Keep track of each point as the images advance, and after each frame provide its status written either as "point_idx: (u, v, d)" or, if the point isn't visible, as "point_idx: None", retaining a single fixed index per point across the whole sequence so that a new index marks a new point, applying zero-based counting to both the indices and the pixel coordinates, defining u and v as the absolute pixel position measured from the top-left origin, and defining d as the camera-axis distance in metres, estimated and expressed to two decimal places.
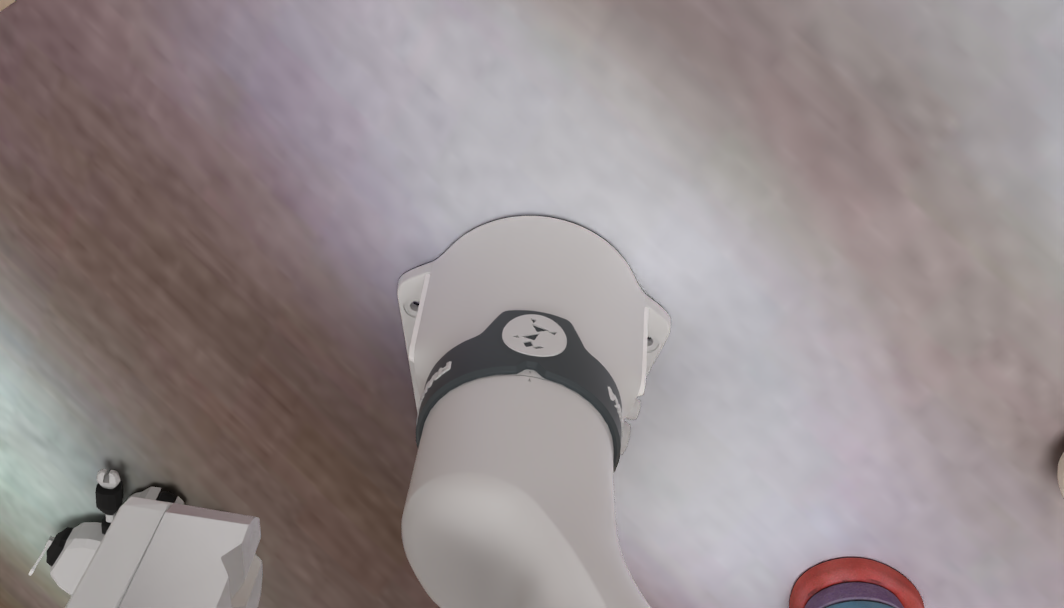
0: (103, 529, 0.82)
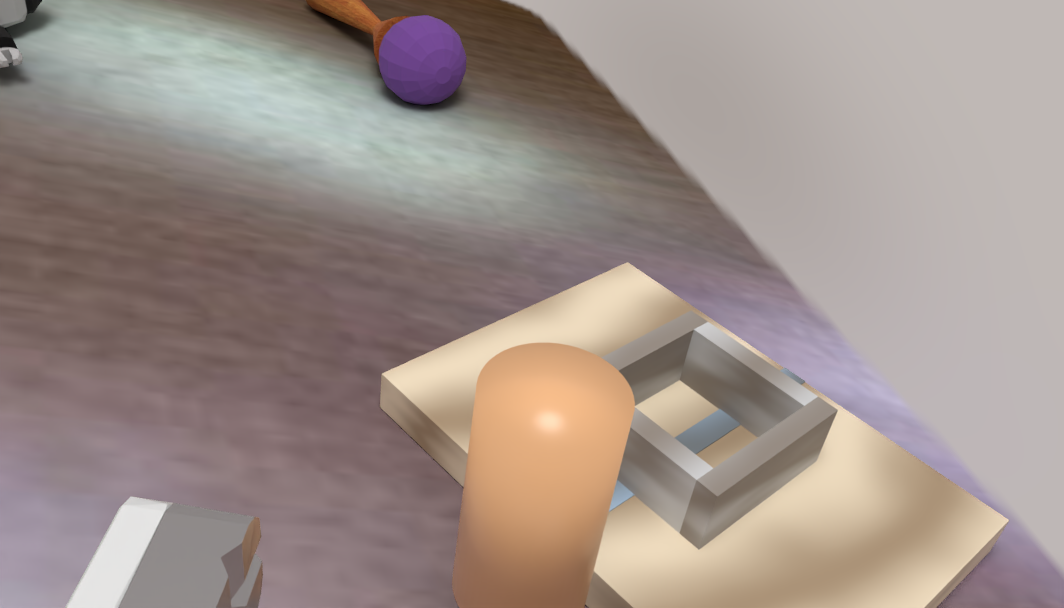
0: None
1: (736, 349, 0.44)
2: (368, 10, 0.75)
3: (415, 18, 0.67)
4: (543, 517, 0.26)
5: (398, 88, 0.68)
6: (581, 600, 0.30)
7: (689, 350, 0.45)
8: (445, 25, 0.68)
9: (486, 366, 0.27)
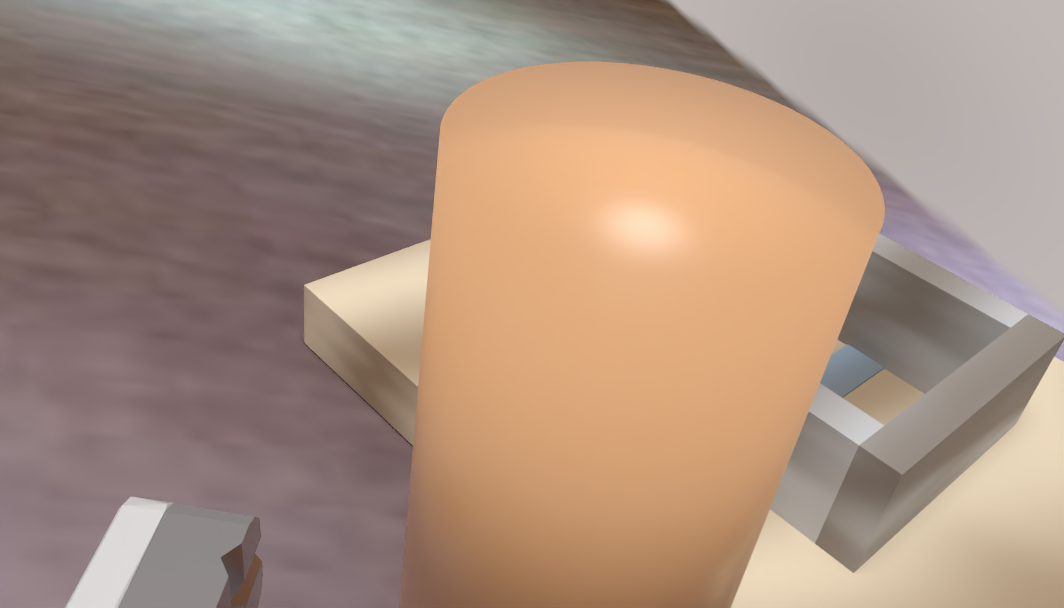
0: None
1: (880, 244, 0.27)
2: None
3: None
4: (628, 497, 0.09)
5: None
6: None
7: None
8: None
9: (468, 94, 0.10)
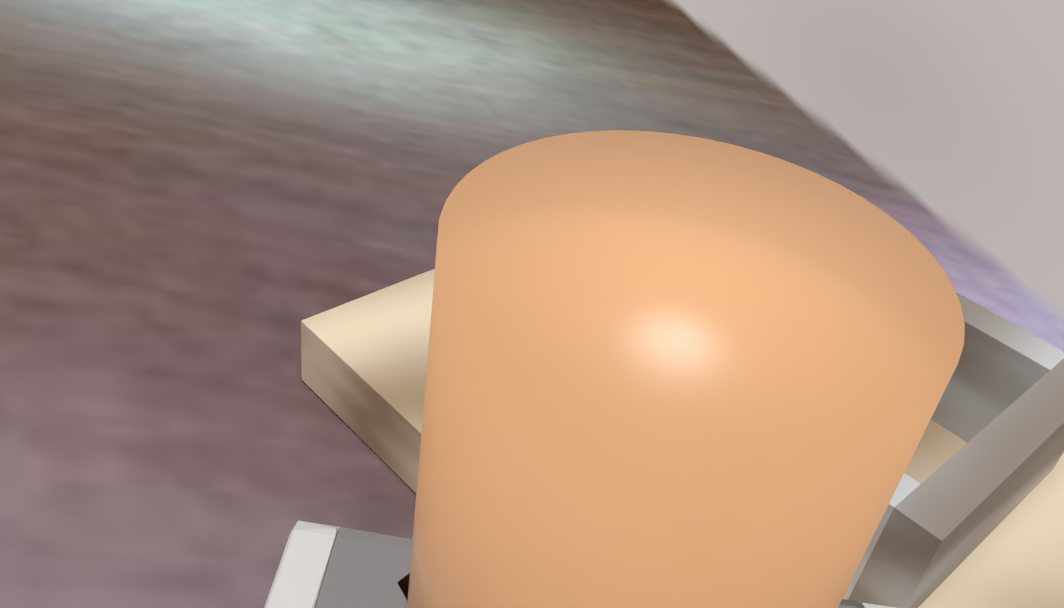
0: None
1: None
2: None
3: None
4: None
5: None
6: None
7: None
8: None
9: (472, 178, 0.09)
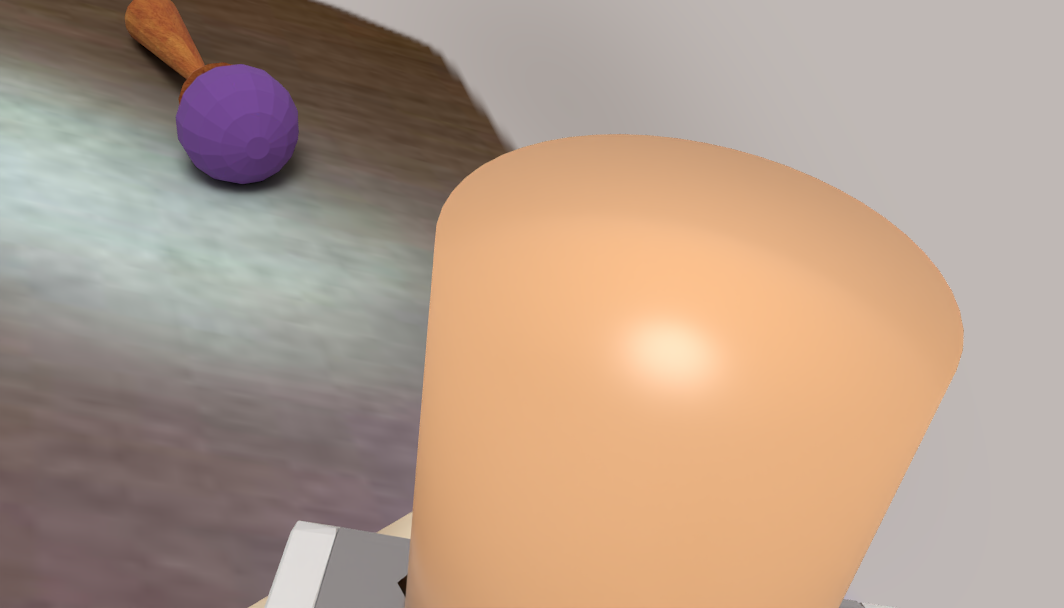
0: None
1: None
2: (191, 50, 0.57)
3: (223, 69, 0.49)
4: None
5: (199, 163, 0.50)
6: None
7: None
8: (265, 79, 0.50)
9: (468, 181, 0.09)
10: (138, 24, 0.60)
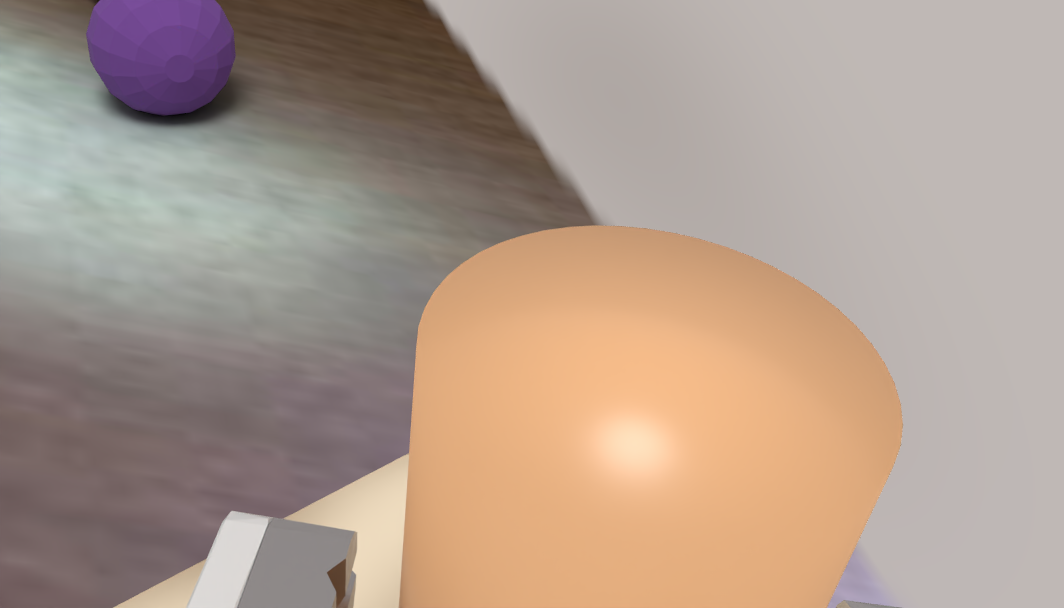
0: None
1: None
2: None
3: None
4: None
5: (113, 88, 0.42)
6: None
7: None
8: None
9: (449, 282, 0.09)
10: None
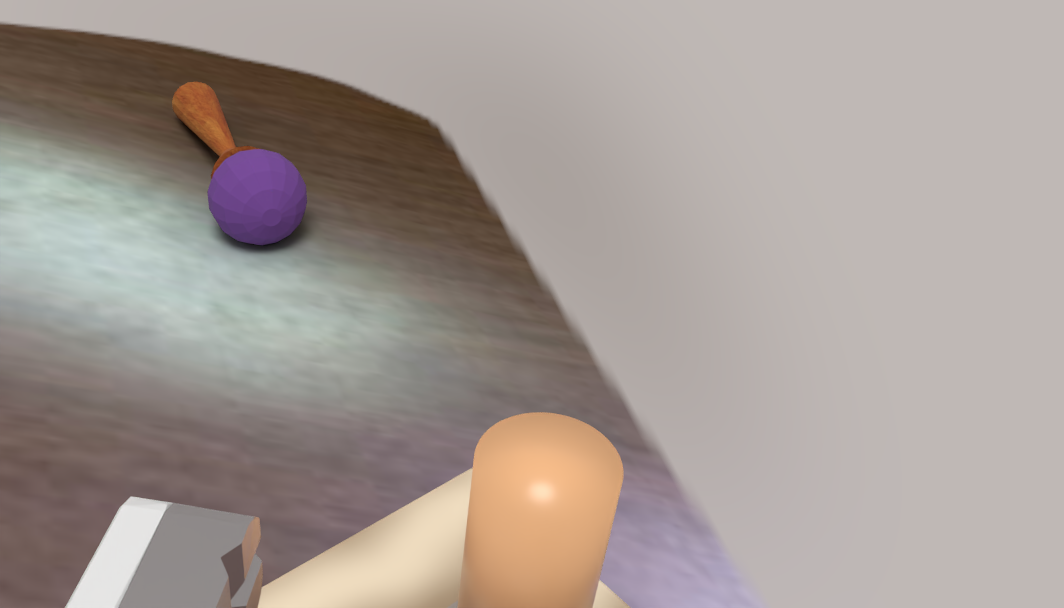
0: None
1: None
2: (223, 132, 0.69)
3: (245, 153, 0.61)
4: (538, 580, 0.28)
5: (225, 229, 0.62)
6: None
7: None
8: (279, 161, 0.62)
9: (483, 438, 0.28)
10: (182, 108, 0.73)
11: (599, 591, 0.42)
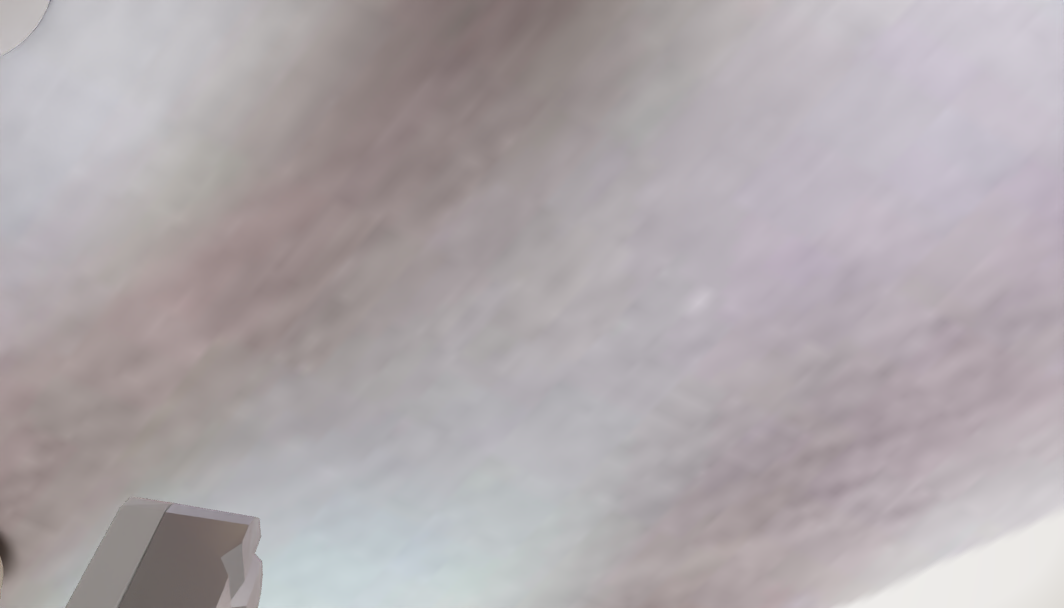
0: None
1: None
2: None
3: None
4: None
5: None
6: None
7: None
8: None
9: None
10: None
11: None
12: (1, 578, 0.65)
